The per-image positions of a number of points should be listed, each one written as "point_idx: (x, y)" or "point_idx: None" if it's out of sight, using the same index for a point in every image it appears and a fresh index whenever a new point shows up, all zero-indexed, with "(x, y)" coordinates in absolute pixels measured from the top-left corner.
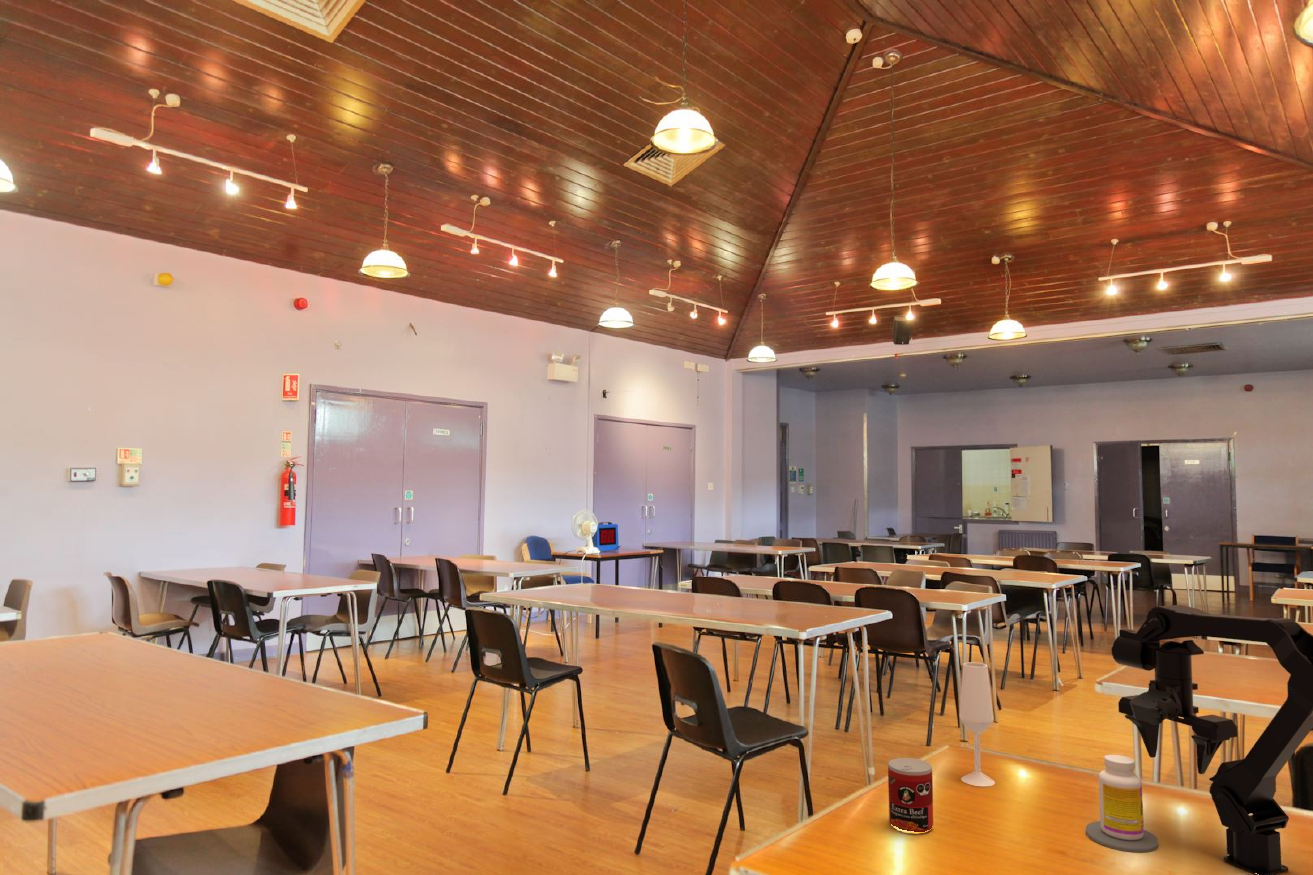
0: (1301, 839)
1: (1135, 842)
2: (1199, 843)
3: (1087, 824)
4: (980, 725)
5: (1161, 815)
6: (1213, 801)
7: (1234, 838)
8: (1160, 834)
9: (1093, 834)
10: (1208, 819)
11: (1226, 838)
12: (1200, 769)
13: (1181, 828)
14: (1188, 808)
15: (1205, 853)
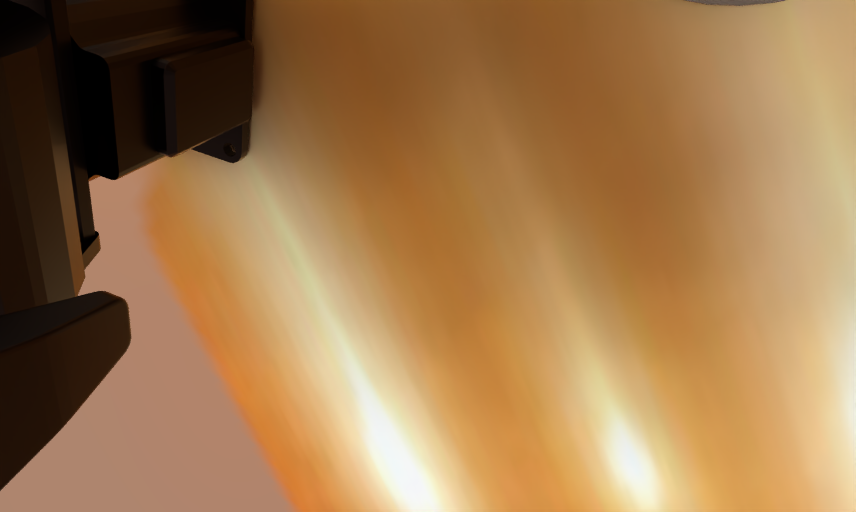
0: (253, 432)
1: None
2: (415, 120)
3: None
4: None
5: (687, 356)
6: (45, 40)
7: (116, 2)
8: (596, 76)
9: None
10: (512, 432)
11: (207, 58)
12: (50, 304)
13: (550, 252)
14: (618, 503)
15: (340, 5)
